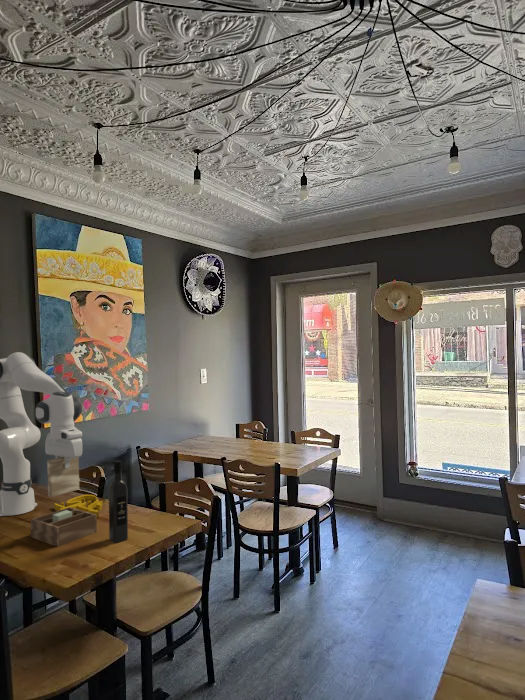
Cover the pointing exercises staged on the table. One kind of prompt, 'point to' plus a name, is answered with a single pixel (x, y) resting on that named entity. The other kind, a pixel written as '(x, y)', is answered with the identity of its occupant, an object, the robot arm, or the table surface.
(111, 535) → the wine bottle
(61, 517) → the offcut short
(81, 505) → the decorative art
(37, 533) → the box
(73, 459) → the plywood sheet
